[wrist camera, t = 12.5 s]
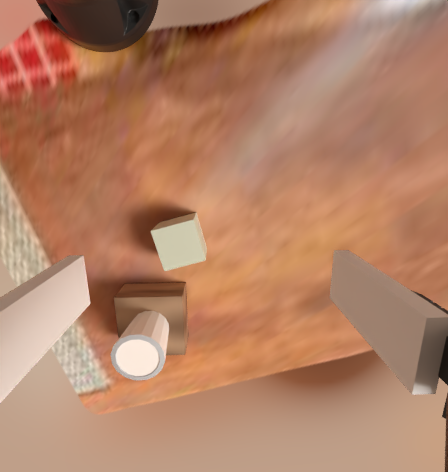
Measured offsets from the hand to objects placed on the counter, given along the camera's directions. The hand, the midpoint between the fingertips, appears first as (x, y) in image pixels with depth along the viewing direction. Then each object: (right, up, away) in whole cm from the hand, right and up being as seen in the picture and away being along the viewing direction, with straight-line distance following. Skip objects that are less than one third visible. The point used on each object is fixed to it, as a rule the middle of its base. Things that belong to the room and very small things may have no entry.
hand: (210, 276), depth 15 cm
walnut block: (-11, -10, +32) cm, 35 cm away
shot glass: (-10, -12, +27) cm, 32 cm away
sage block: (-6, +2, +29) cm, 30 cm away
